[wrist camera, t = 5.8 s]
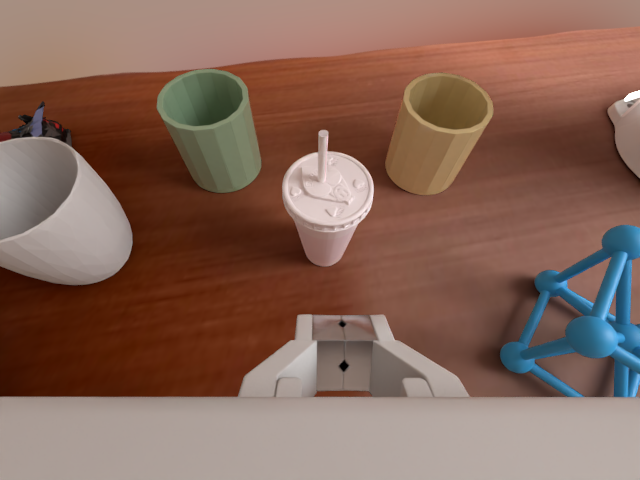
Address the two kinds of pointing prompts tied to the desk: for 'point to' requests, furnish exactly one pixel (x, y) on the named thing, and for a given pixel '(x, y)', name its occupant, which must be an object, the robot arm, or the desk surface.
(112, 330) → the desk surface
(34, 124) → the toy car
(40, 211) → the mug
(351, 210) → the smoothie
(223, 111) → the sage cup
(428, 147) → the tan cup
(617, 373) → the molecular structure
